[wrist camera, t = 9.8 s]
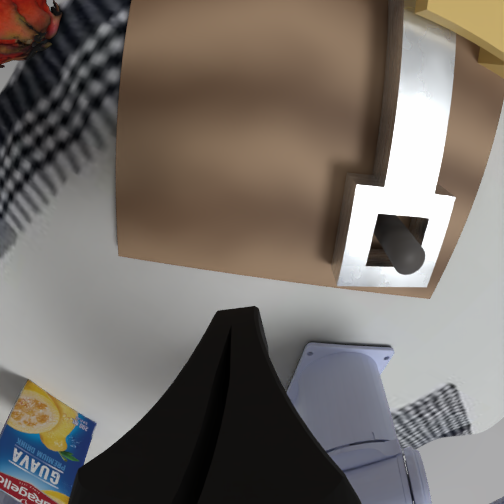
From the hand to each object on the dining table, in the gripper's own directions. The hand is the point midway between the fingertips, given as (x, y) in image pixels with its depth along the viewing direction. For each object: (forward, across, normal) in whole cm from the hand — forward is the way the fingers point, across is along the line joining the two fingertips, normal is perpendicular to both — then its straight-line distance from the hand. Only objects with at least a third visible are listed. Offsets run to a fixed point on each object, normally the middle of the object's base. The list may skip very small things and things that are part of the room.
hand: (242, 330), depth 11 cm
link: (+9, -9, -4) cm, 13 cm away
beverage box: (+10, +32, +22) cm, 40 cm away
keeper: (+9, -14, -10) cm, 19 cm away
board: (+10, -5, -5) cm, 12 cm away
